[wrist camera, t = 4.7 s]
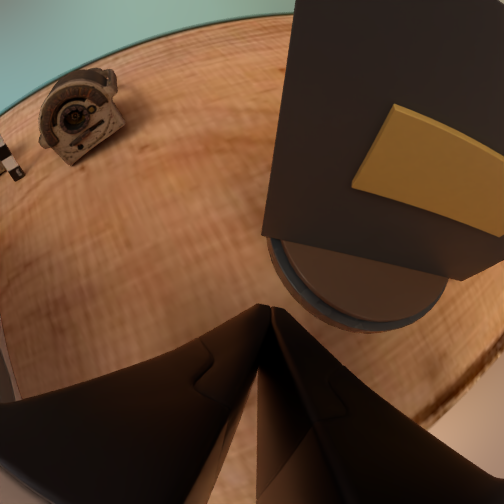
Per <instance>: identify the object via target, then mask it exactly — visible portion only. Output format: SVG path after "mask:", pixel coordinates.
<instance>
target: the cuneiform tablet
mask: <svg viewBox="0 0 504 504" xmlns="http://www.w3.org/2000/svg"><path fill="white" fill-rule="evenodd" d="M6 169H7V171H8V172H9V174H10V175H11V177H12V178H13V179H14V181H17V180H18V179H20V178H22V177H24V176H25V174H24V172H23V171H22V169H21V168H20V166H19V165H18V163H17V161H16V160H15V158H14V157H13V155H12V153H11V152H10V150H9V149H8V147H7V145H6V144H5V142H4V140H3V138H2V137H1V135H0V174H1V173H2V172H4V171H5V170H6Z"/></svg>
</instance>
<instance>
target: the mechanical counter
mask: <svg viewBox="0 0 504 504" xmlns="http://www.w3.org/2000/svg"><path fill="white" fill-rule="evenodd" d="M107 77H108V78H109V79H106V78H107ZM117 91H118V90H117V79H116V75H115V73H114V71H113V70H112V69H107V70H103V71H102V69H100V68H91V69H88V70H77V71H74V72H71V73H69V74H67V75H65V76H64V77H62V78H61V79H60V80H59V81H58V82H57V83H56V84H55V85H54V87H53V88H52V90H51V92H50V93H49V95H48V96H47V98H46V99H45V101H44V103H43V104H42V106H41V110H40V114H39V130H40V133H41V135H40V137H39V141H38V142H39V143H40V145H41V146H42V147H43V148H45V149H47V148H52V149H54V150H55V152H56V153H57V154H58V155H59V156H60V157H61V158H62V159H63V160H64V161H65V162H66V163H67V164H68V165H70V166H71V165H72V164H73V163H74V162H76V161H77V160H78V159H79V158H81V157H82V156H83V155H84V154H86V153H87V152H88V151H89V150H91V149H92V148H93V147H95V146H96V145H97V144H99V143H100V142H102V141H103V140H104V139H106V138H107V137H109V136H110V135H111V134H113V133H114V132H116V131H117V130H118V129H120V128H121V127H123V126H124V125H125V123H126V122H125V120H124V119H123V117H122V115H121V113H120V112H119V110H118V109H117V107H116V105H115V103H113V100H112V97H113V96H114V95H115V94H116V93H117Z"/></svg>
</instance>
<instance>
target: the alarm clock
mask: <svg viewBox="0 0 504 504" xmlns="http://www.w3.org/2000/svg"><path fill="white" fill-rule="evenodd" d="M18 400H22V398H21V395H20V392H19V389H18V386H17V383H16V380H15V377H14V373H13V370H12V366H11V362H10V358H9V355H8V350H7V346H6V342H5V337H4V332H3V327H2V322H1V316H0V403H9V402H14V401H18Z"/></svg>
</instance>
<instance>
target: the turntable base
mask: <svg viewBox="0 0 504 504" xmlns="http://www.w3.org/2000/svg"><path fill="white" fill-rule="evenodd" d="M266 238H267V245H268V249H269V253H270V257H271V260H272V263H273V265H274V267H275V270H276V272H277V274H278V276H279V277H280V279H281V281H282V282H283V284H284V286H285V287H286V288H287V290H288V291H289V292H290V294H291V295H292V296H293V297H294V298H295V299H296V300H297V301H298V302H299V303H300V304H301V305H302V306H303V307H304V308H305V309H306V310H307V311H309V312H310V313H311V314H313V315H314V316H315V317H317V318H319V319H320V320H322V321H324V322H325V323H327V324H329V325H332V326H334V327H337V328H339V329H342V330H346V331H350V332H354V333H365V334H371V333H382V332H386V331H391V330H395V329H399V328H402V327H405V326H407V325H409V324H412V323H414V322H415V321H417V320H418V319H420V318H421V317H423V316H424V315H425V314H426V313H427V312H429V311H430V310H431V309H432V307H433V306H434V305H435V304H436V303H437V301H438V300H439V298H440V297H441V295H442V293H443V291H444V289H445V287H446V285H445V287H444V289H443V290H442V292H441V293H440V295H439V296H438V297H437V298H436V300H435V301H434V302H432V303H431V304H430V305H429V306H428V307H427V308H425V309H424V310H422V311H421V312H419V313H417V314H415V315H413V316H410V317H408V318H405V319H401V320H397V321H391V322H372V321H365V320H361V319H357V318H354V317H351V316H349V315H346V314H344V313H341V312H340V311H338V310H336V309H334V308H333V307H331V306H329V305H328V304H326V303H325V302H324V301H322V300H321V299H320V298H318V297H317V296H316V295H315V294H314V293H313V292H312V291H311V290H310V289H309V288H308V287H307V286H306V285H305V284H304V282H303V281H302V280H301V279H300V278H299V276H298V275H297V274H296V272H295V270H294V269H293V267H292V266H291V264H290V262H289V260H288V258H287V256H286V254H285V252H284V249H283V247H282V244H281V240H280V239H276V238H271V237H266ZM447 282H448V281H447ZM446 284H447V283H446Z"/></svg>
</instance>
